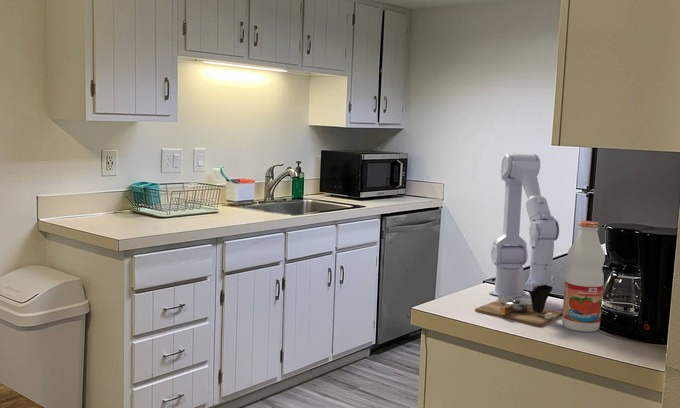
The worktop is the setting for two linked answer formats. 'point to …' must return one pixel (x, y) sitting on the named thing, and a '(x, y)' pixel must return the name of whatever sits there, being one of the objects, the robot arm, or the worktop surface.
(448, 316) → the worktop surface
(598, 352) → the worktop surface
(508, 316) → the board
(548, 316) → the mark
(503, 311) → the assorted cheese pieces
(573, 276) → the fruit juice
